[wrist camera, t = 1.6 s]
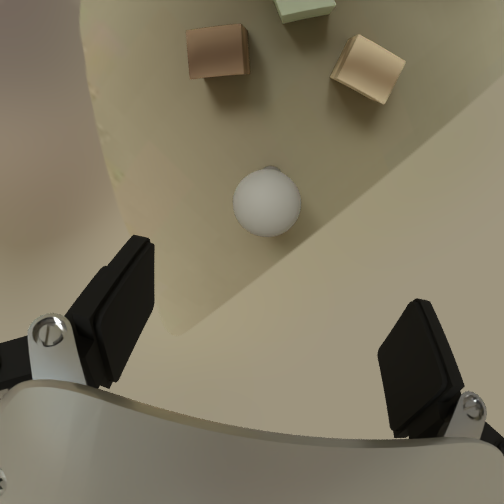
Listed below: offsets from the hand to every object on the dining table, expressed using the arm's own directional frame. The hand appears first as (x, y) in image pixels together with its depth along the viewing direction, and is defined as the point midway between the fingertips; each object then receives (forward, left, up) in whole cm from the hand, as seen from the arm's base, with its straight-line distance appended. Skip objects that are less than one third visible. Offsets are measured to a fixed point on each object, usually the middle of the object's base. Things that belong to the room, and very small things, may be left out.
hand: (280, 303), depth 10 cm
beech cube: (-10, +6, -26) cm, 28 cm away
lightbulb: (+5, -1, -26) cm, 26 cm away
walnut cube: (-8, -8, -26) cm, 28 cm away
